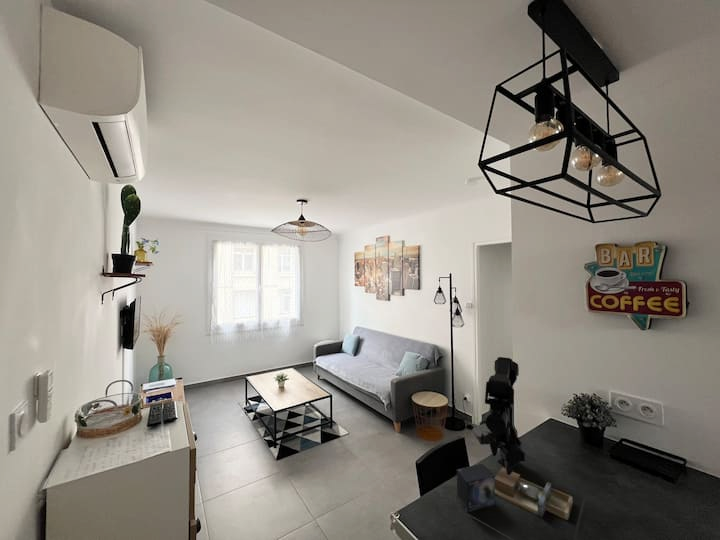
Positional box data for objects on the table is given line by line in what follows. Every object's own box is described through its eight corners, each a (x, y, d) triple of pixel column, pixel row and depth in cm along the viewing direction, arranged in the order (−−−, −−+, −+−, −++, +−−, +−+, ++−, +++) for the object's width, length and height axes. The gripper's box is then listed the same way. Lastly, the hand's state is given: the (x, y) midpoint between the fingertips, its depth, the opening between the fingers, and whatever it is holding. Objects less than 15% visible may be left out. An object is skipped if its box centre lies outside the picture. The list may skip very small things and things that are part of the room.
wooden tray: (501, 473, 111) (501, 462, 111) (572, 504, 95) (572, 492, 95) (488, 492, 101) (488, 480, 101) (565, 530, 86) (565, 516, 86)
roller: (522, 490, 101) (522, 479, 102) (539, 498, 98) (539, 486, 98) (519, 495, 99) (519, 484, 99) (536, 503, 95) (536, 491, 96)
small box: (468, 515, 92) (467, 482, 92) (456, 499, 99) (455, 468, 99) (496, 507, 95) (495, 475, 95) (482, 492, 101) (482, 462, 101)
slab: (502, 476, 108) (502, 467, 108) (520, 484, 104) (520, 474, 104) (494, 488, 102) (494, 478, 102) (513, 497, 98) (512, 487, 98)
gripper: (464, 405, 106) (465, 448, 106) (489, 435, 87) (490, 487, 88) (495, 404, 106) (496, 446, 107) (526, 433, 88) (527, 485, 88)
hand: (501, 464), depth 97 cm, fingers open, 9 cm apart
